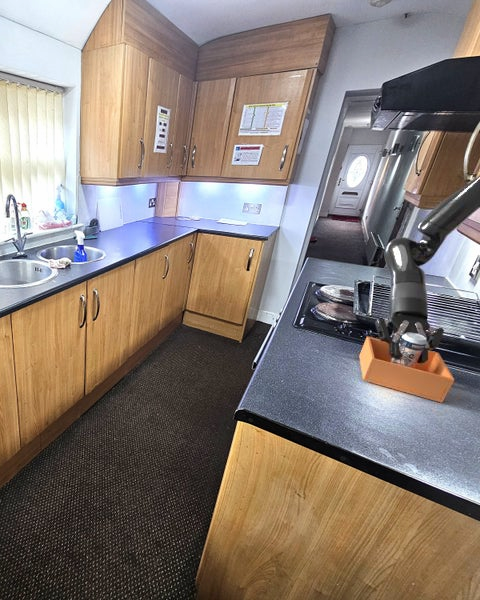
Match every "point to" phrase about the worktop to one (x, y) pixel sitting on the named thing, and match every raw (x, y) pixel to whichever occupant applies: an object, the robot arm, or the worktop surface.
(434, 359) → the tote
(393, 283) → the robot arm
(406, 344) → the beer can
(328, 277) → the worktop surface
